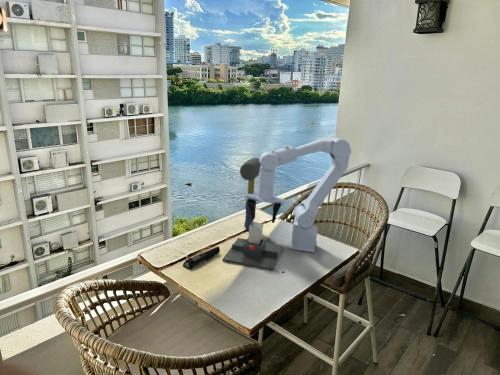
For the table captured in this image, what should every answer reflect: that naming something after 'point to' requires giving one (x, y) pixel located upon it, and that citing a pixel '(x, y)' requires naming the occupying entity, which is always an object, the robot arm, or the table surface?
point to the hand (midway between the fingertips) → (263, 220)
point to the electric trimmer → (201, 258)
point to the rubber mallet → (250, 183)
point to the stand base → (254, 254)
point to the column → (255, 233)
